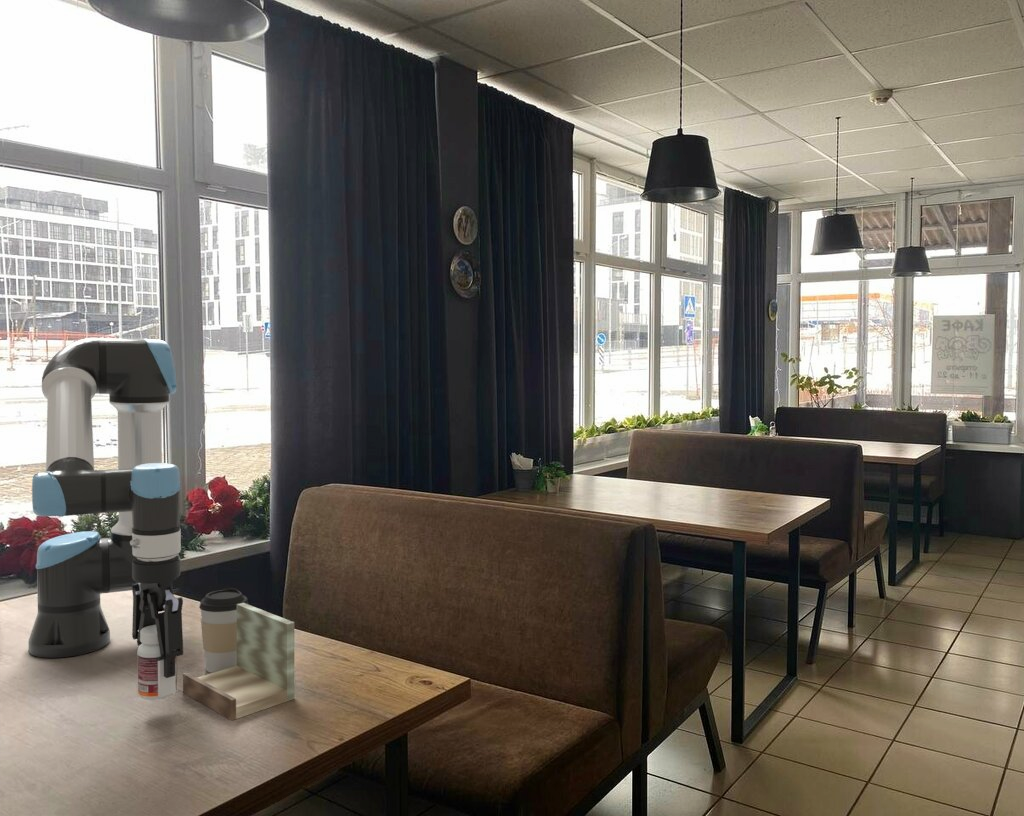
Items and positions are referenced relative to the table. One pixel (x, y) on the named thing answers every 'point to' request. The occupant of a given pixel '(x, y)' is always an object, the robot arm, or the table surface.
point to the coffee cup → (220, 628)
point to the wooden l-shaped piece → (251, 667)
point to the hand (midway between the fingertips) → (157, 687)
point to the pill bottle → (149, 664)
